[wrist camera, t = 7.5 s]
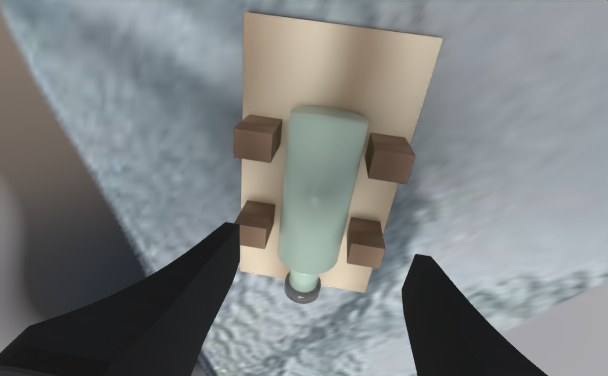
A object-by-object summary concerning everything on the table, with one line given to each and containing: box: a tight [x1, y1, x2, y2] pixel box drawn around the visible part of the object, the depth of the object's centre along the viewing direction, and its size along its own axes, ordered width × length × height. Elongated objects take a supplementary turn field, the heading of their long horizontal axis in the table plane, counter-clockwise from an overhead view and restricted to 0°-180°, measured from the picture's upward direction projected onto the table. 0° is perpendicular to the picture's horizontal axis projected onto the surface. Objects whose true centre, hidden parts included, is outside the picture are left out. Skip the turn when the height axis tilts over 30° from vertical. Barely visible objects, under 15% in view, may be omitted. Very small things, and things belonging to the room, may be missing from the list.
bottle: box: [277, 106, 369, 304], centre depth 18 cm, size 4×12×4 cm, turn 173°
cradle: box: [234, 12, 443, 293], centre depth 18 cm, size 10×18×4 cm, turn 173°
